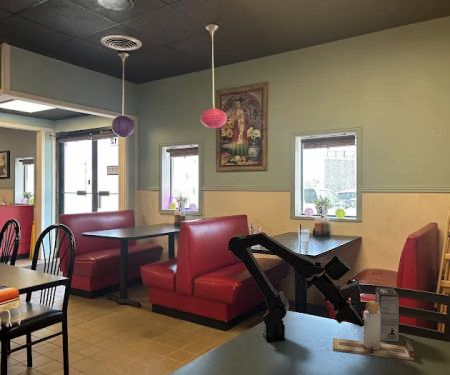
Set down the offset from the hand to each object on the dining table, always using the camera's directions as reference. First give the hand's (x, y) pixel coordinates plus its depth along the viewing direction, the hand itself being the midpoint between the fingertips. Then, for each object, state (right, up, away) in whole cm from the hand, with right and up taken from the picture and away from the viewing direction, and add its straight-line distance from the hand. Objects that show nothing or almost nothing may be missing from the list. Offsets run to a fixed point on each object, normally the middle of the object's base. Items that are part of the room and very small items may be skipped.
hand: (362, 325), depth 126 cm
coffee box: (+12, -8, +10) cm, 18 cm away
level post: (+3, -6, -1) cm, 7 cm away
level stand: (+2, -8, -1) cm, 8 cm away
